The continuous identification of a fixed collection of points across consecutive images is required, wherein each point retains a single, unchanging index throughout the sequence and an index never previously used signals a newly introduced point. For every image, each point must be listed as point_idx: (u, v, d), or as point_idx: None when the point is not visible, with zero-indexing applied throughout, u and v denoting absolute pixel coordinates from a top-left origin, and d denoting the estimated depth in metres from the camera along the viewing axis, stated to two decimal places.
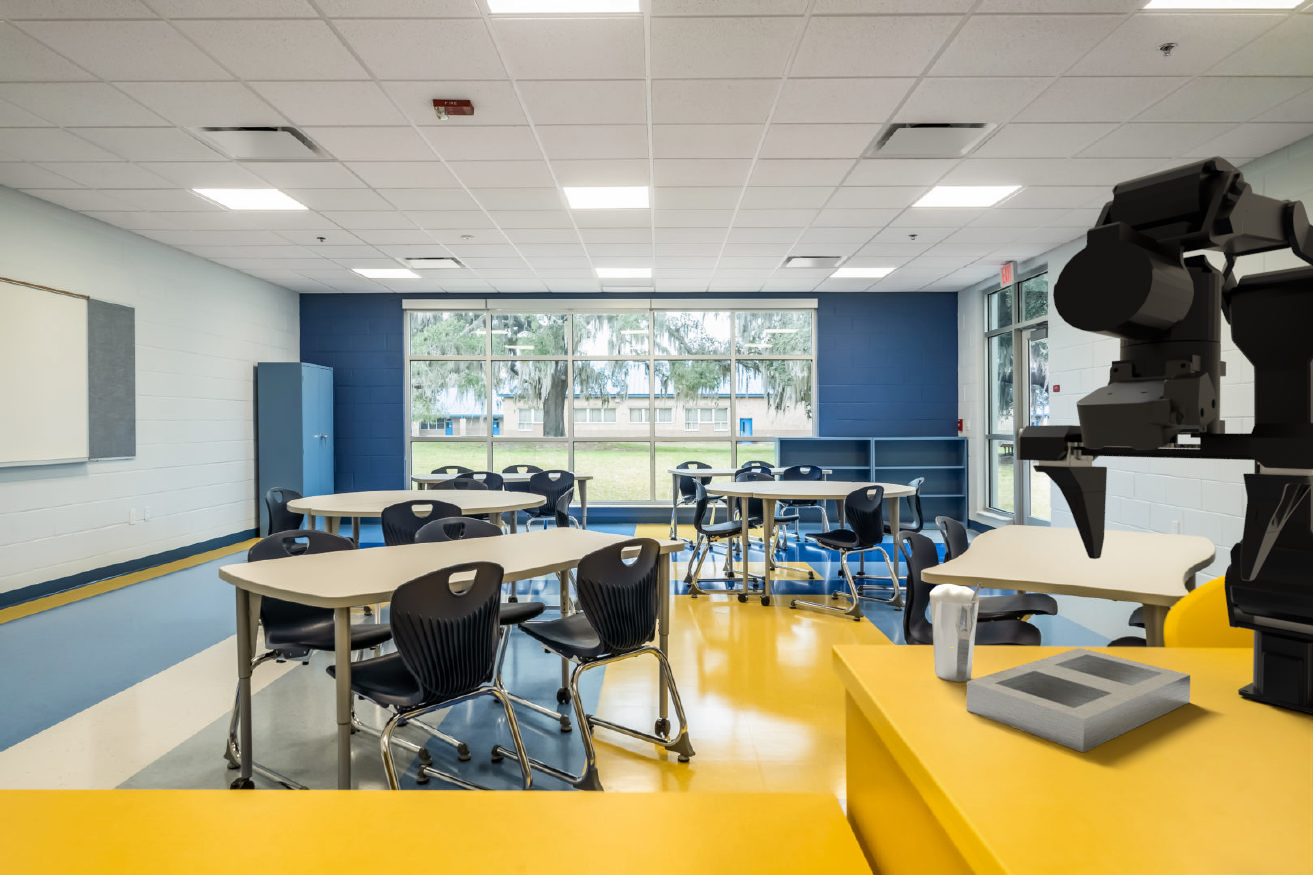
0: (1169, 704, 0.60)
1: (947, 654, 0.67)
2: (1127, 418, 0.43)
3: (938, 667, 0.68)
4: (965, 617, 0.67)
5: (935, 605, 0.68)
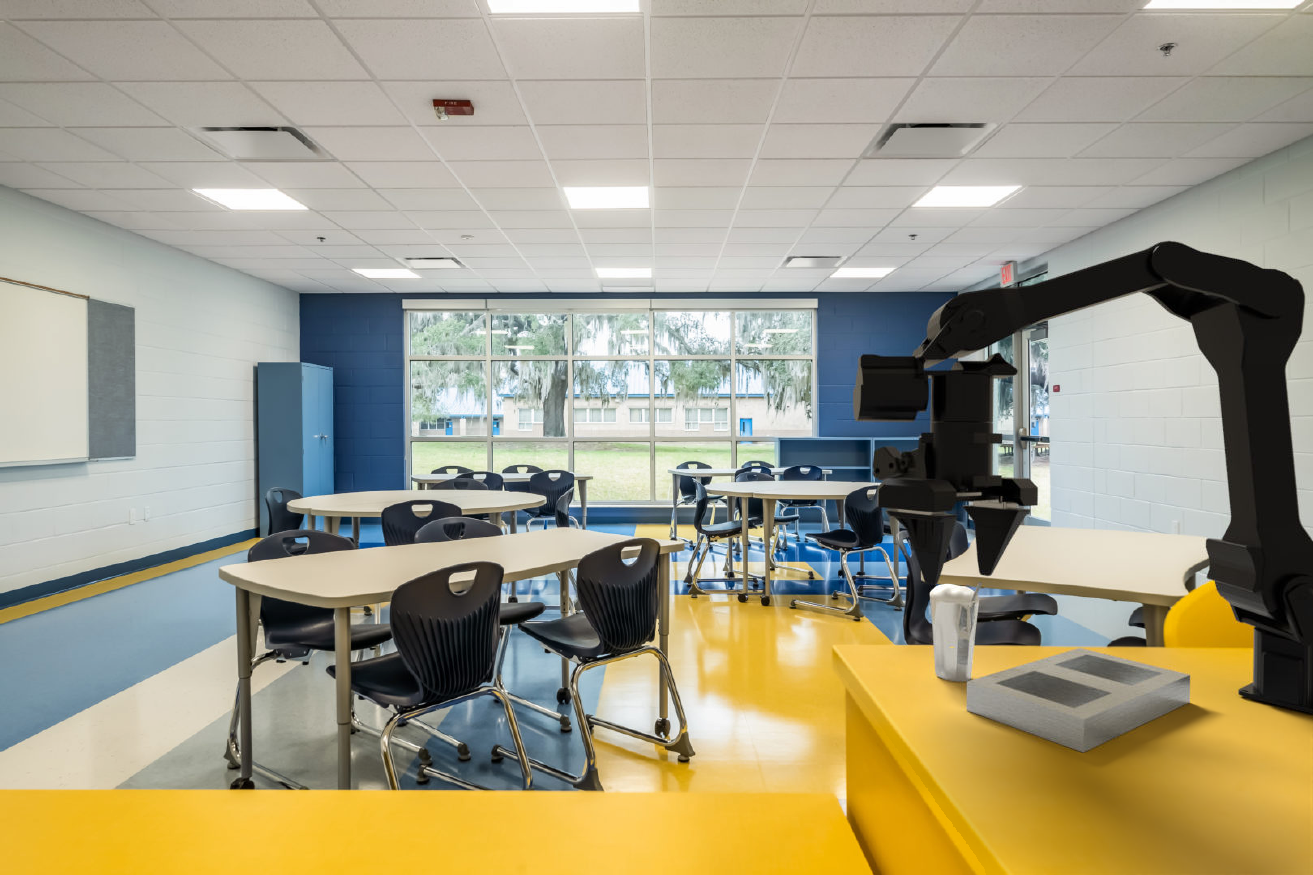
0: (1169, 704, 0.60)
1: (947, 654, 0.67)
2: None
3: (938, 667, 0.68)
4: (965, 617, 0.66)
5: (935, 605, 0.68)
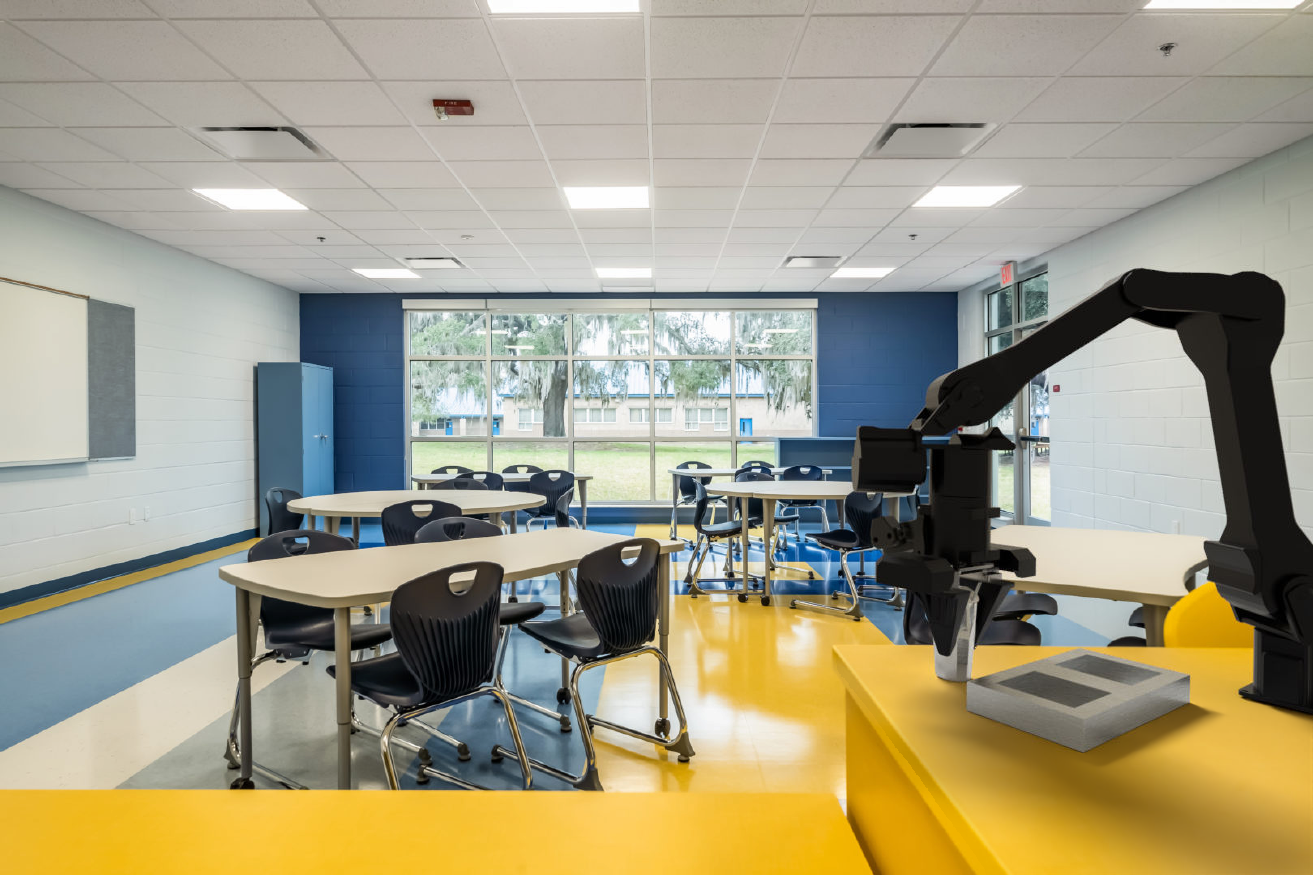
0: (1169, 704, 0.60)
1: None
2: None
3: (938, 667, 0.68)
4: (965, 617, 0.66)
5: None
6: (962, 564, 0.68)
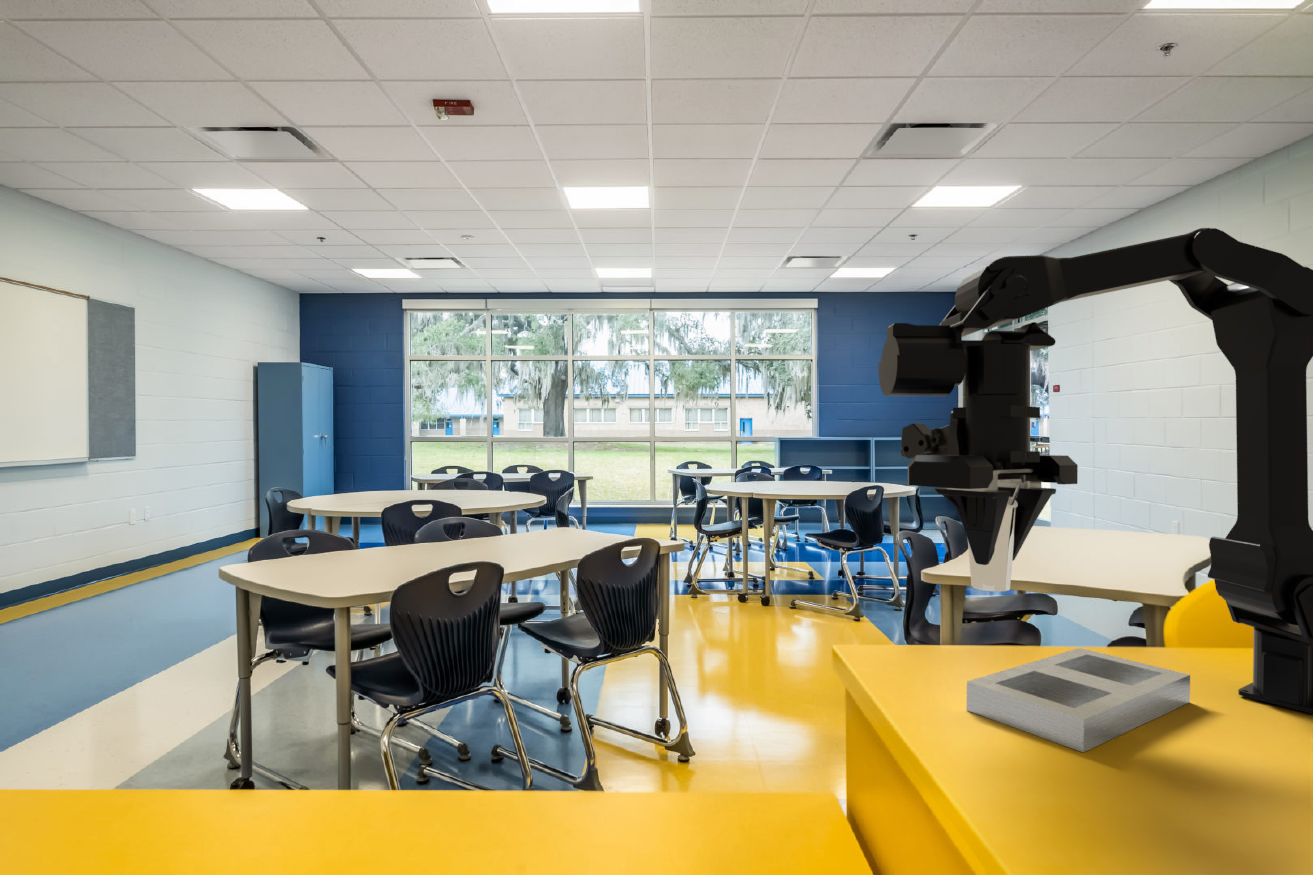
0: (1169, 704, 0.60)
1: None
2: None
3: (975, 578, 0.65)
4: (1003, 522, 0.63)
5: None
6: (999, 468, 0.64)
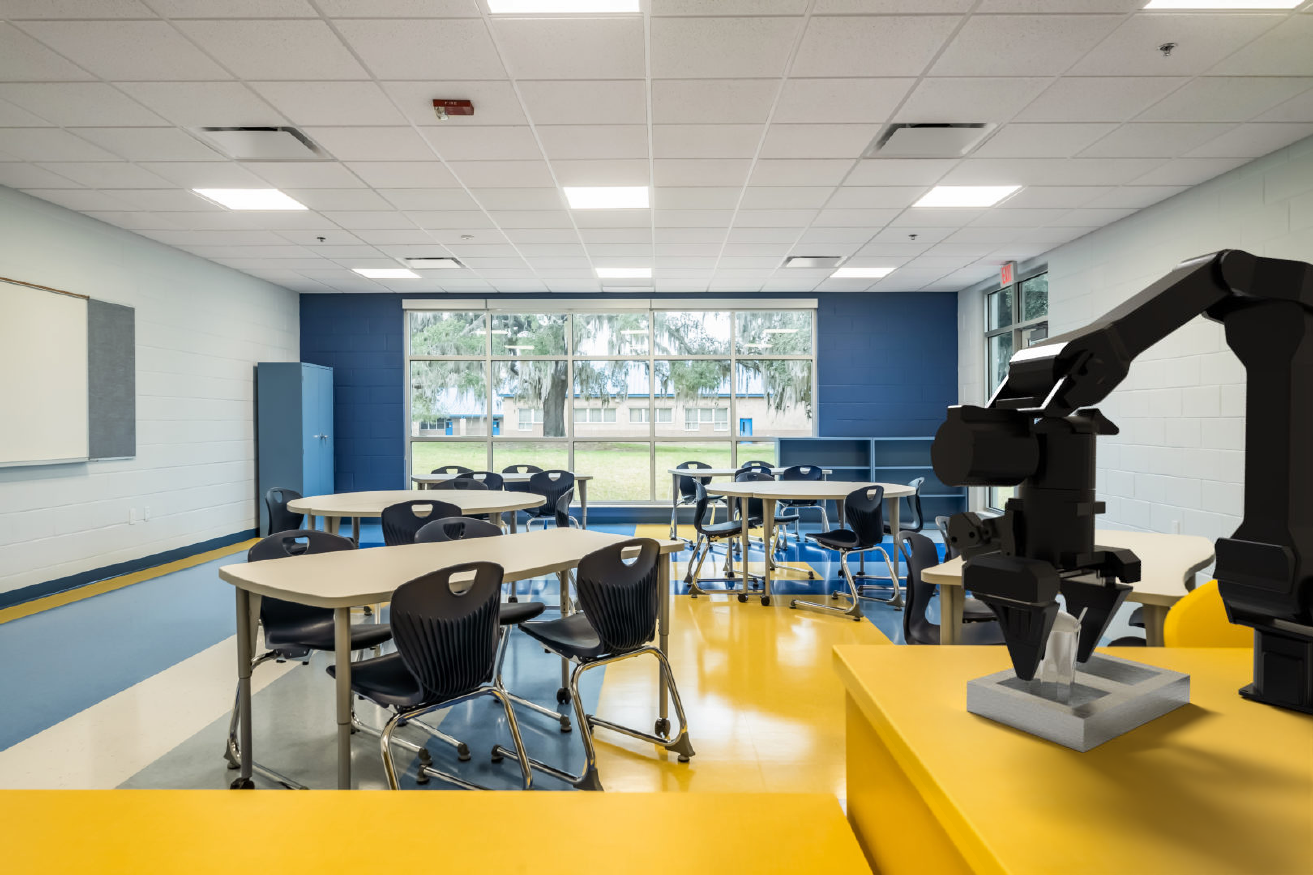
0: (1169, 704, 0.60)
1: (1045, 691, 0.58)
2: None
3: None
4: (1067, 648, 0.57)
5: None
6: (1060, 568, 0.58)
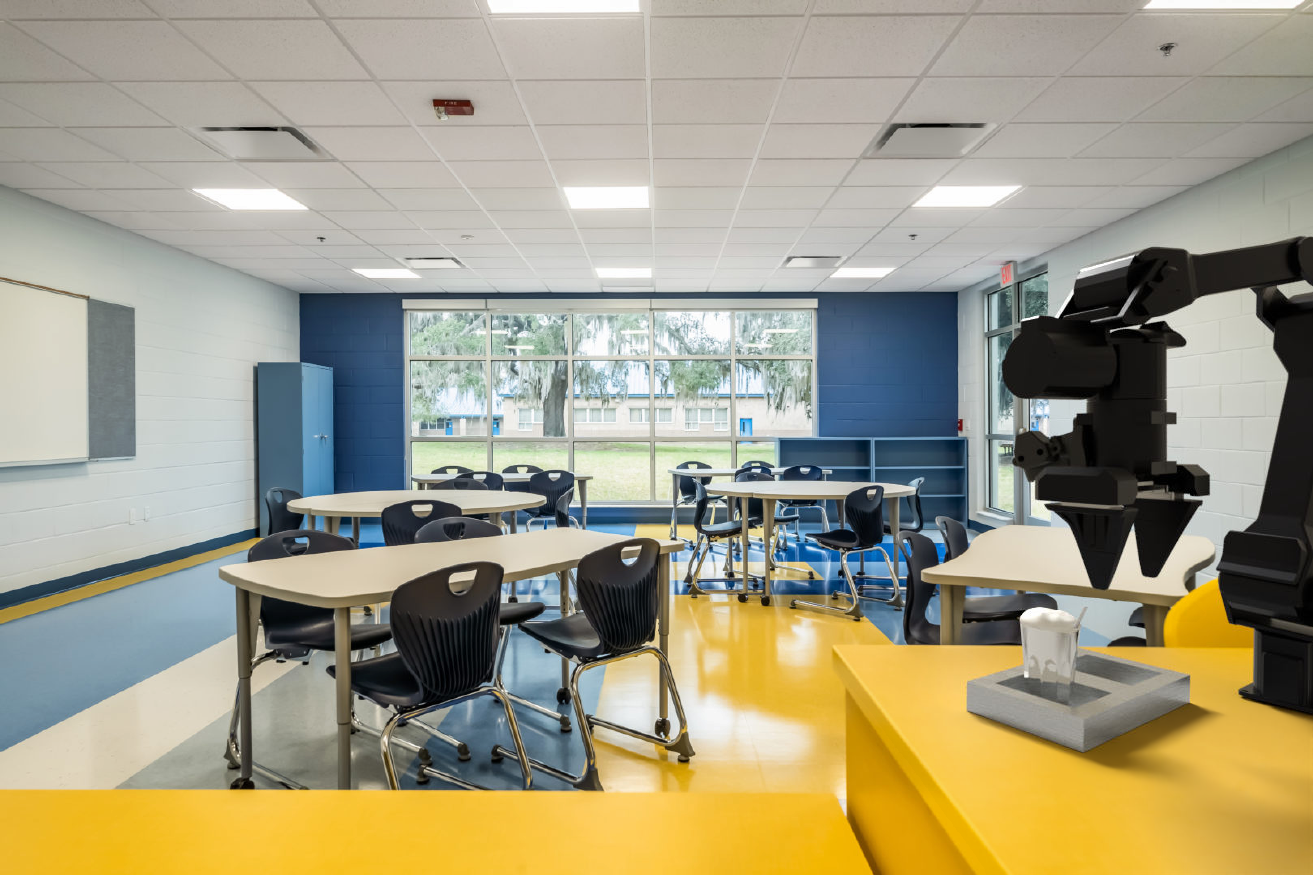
0: (1169, 704, 0.60)
1: (1045, 691, 0.58)
2: None
3: None
4: (1067, 648, 0.57)
5: (1029, 633, 0.58)
6: None
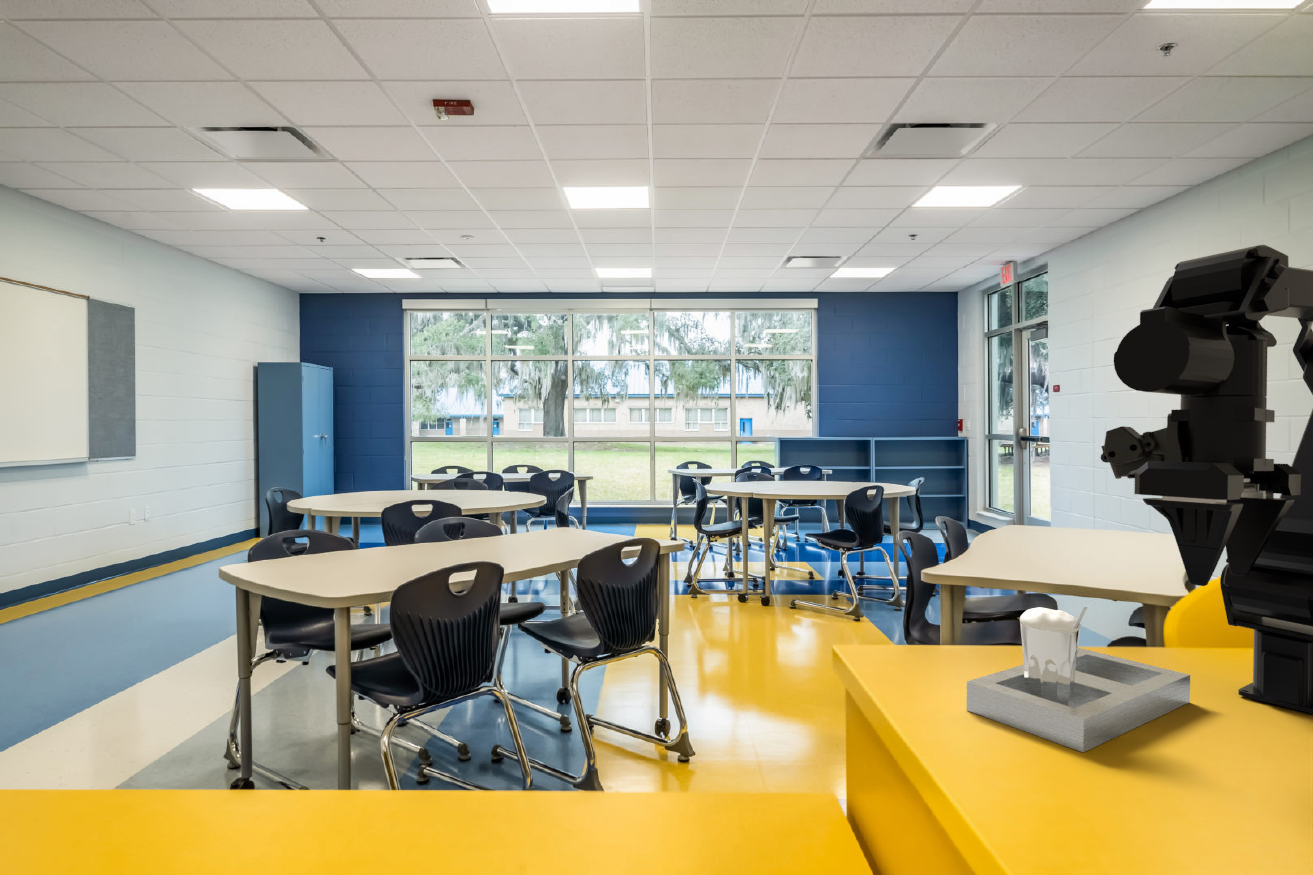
0: (1169, 704, 0.60)
1: (1045, 691, 0.58)
2: None
3: None
4: (1067, 648, 0.57)
5: (1029, 633, 0.58)
6: None
